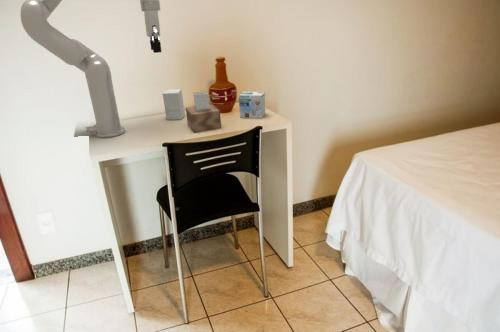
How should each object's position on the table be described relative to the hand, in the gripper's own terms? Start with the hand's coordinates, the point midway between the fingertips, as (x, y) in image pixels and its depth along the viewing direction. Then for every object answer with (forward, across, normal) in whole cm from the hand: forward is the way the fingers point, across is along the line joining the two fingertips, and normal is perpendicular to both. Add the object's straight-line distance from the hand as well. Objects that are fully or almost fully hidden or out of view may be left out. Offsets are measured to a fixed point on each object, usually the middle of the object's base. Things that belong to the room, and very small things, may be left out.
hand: (156, 50), depth 167 cm
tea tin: (+24, +12, +15) cm, 31 cm away
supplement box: (+32, -8, +6) cm, 34 cm away
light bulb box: (+32, +8, +39) cm, 51 cm away
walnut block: (+32, +12, +15) cm, 37 cm away
